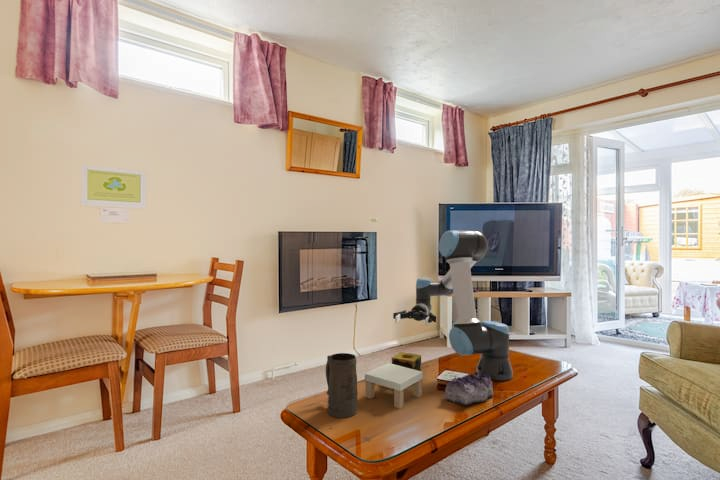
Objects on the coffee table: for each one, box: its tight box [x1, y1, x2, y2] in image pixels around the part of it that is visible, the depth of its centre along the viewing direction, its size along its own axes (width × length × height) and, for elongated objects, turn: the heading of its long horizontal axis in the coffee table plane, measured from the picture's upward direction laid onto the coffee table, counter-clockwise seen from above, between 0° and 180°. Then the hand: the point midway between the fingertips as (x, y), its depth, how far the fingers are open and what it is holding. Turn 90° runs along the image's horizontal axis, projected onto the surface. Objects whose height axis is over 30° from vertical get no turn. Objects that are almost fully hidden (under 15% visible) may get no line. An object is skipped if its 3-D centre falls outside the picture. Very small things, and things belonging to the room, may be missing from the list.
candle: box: [391, 351, 422, 386], centre depth 168 cm, size 10×10×10 cm
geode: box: [444, 373, 494, 406], centre depth 149 cm, size 20×12×10 cm, turn 121°
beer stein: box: [325, 352, 359, 419], centre depth 139 cm, size 15×10×20 cm
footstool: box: [364, 362, 424, 410], centre depth 151 cm, size 16×16×9 cm
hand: (410, 321), depth 177 cm, fingers open, 13 cm apart
